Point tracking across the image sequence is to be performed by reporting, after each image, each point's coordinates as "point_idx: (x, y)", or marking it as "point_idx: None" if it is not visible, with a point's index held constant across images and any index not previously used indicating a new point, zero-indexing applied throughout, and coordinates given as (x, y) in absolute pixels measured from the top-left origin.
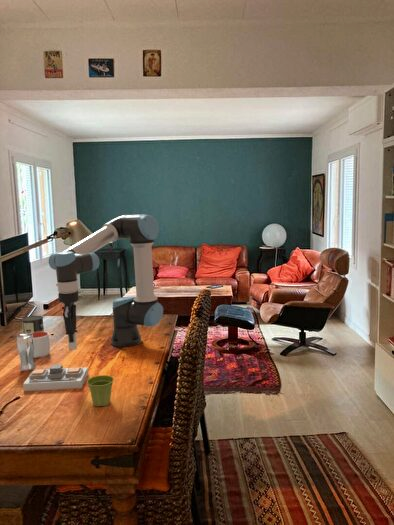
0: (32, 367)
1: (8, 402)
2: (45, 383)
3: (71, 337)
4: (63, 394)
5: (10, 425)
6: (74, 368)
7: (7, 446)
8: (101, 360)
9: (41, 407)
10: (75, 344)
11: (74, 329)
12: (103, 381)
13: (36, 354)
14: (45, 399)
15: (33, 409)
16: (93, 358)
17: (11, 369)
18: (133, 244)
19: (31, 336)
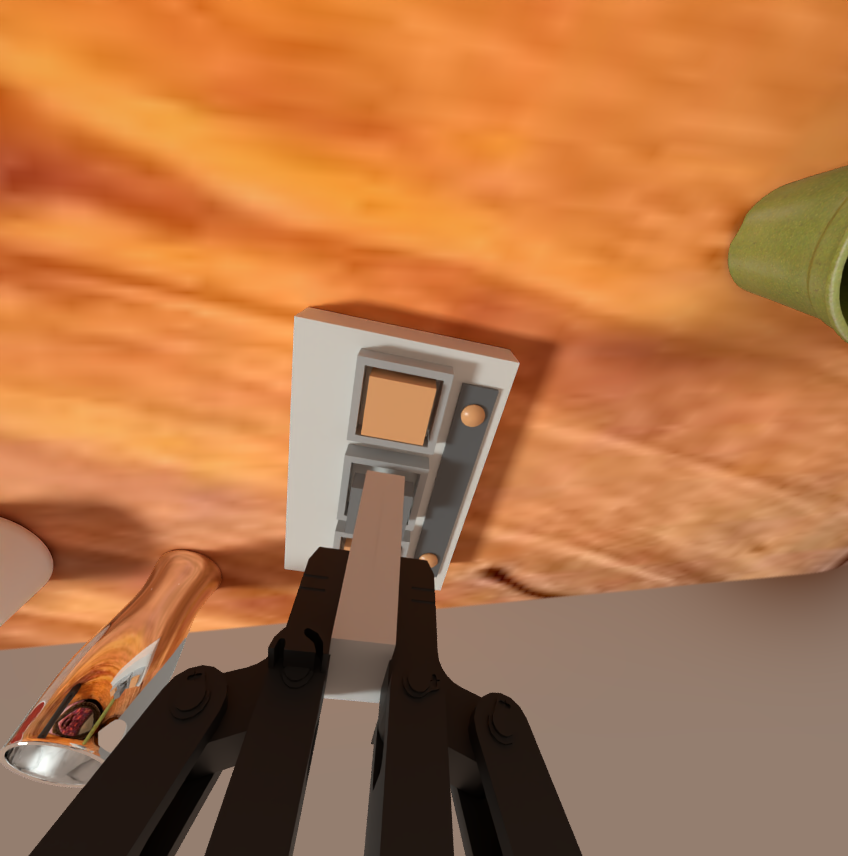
0: (199, 563)
1: (519, 592)
2: (464, 519)
3: (431, 633)
4: (545, 431)
5: (706, 571)
6: (380, 410)
7: (842, 564)
8: (42, 194)
9: (628, 502)
10: (401, 514)
11: (316, 715)
12: (837, 210)
13: (39, 568)
14: (559, 494)
15: (628, 525)
16: (6, 258)
17: (198, 614)
18: None
19: (65, 741)
